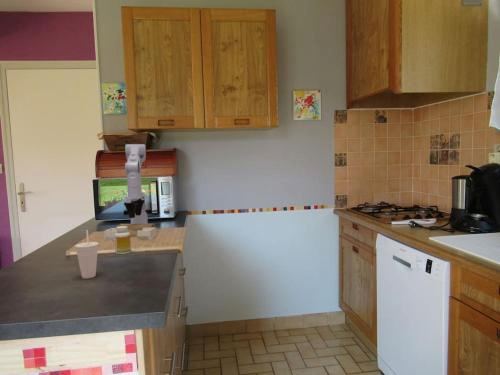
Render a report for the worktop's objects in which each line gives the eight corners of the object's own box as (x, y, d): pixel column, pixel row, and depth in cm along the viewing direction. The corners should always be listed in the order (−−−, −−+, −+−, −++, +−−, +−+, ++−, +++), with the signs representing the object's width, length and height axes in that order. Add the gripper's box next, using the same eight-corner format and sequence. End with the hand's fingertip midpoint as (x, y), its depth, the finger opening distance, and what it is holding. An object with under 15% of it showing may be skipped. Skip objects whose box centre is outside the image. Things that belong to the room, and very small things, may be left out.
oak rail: (121, 234, 164) (120, 223, 163) (154, 234, 163) (154, 223, 162) (117, 236, 160) (116, 225, 159) (151, 235, 159) (151, 224, 158)
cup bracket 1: (111, 236, 159) (111, 228, 158) (124, 236, 158) (123, 227, 158) (104, 240, 152) (103, 231, 151) (117, 240, 151) (116, 231, 151)
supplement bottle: (133, 252, 130) (132, 226, 129) (119, 255, 126) (118, 228, 125) (126, 250, 134) (125, 225, 133) (113, 252, 130) (111, 227, 129)
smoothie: (85, 281, 99) (82, 232, 97) (72, 277, 102) (69, 230, 101) (105, 275, 104) (102, 228, 103) (92, 271, 107) (89, 227, 106)
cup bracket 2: (143, 236, 158) (143, 227, 158) (156, 236, 158) (155, 227, 157) (137, 239, 151) (137, 230, 151) (150, 239, 151) (150, 230, 150)
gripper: (131, 186, 167) (132, 214, 168) (118, 188, 152) (120, 219, 153) (146, 186, 167) (147, 214, 167) (134, 188, 152) (135, 219, 153)
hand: (135, 216), depth 160 cm, fingers open, 7 cm apart
